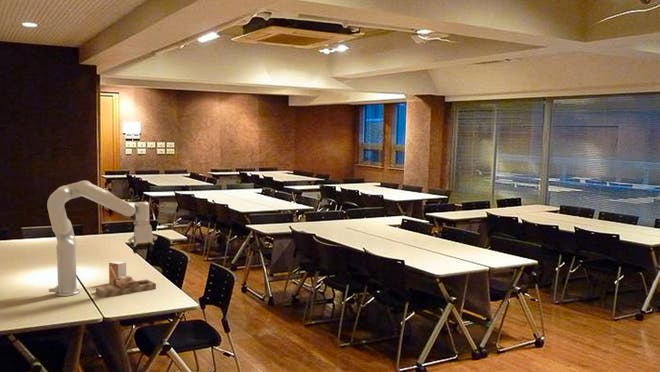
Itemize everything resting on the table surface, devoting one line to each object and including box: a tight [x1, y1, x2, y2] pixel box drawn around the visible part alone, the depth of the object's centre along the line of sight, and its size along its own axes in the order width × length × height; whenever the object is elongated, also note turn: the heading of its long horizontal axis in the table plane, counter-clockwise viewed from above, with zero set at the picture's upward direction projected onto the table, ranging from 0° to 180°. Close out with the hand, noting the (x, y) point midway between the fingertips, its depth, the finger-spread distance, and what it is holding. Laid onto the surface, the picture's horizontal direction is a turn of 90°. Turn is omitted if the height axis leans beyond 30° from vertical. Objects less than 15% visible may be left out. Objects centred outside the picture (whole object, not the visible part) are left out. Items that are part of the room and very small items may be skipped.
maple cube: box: [120, 275, 133, 283], centre depth 325 cm, size 5×5×5 cm
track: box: [95, 279, 157, 298], centre depth 325 cm, size 30×13×6 cm, turn 130°
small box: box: [108, 260, 127, 285], centre depth 341 cm, size 8×6×13 cm
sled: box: [116, 278, 136, 287], centre depth 325 cm, size 9×9×2 cm
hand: (143, 252), depth 332 cm, fingers open, 9 cm apart
